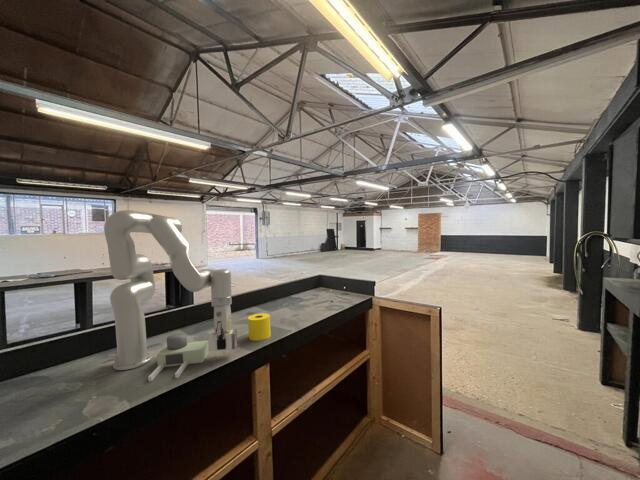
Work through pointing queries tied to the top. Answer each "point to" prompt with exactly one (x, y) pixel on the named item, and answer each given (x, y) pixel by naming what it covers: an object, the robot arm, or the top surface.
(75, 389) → the top surface
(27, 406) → the top surface
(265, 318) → the tape roll
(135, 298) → the robot arm
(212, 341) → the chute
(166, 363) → the green box with window
